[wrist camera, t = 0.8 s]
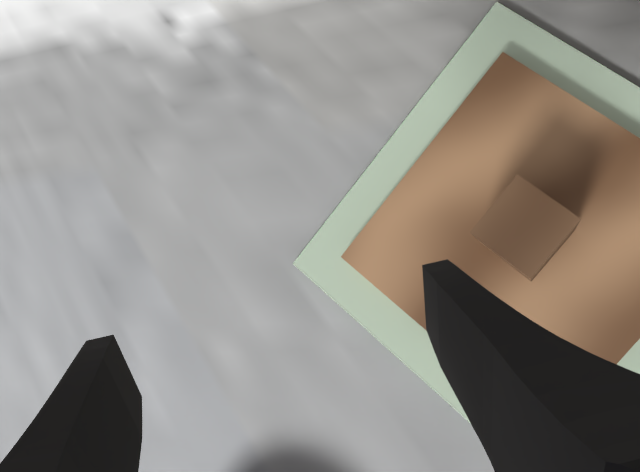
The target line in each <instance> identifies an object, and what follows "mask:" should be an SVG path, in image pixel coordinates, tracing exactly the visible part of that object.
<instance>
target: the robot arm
mask: <svg viewBox="0 0 640 472" xmlns="http://www.w3.org/2000/svg"><path fill="white" fill-rule="evenodd" d="M422 270H423V286H424V302H425V318H426V331H427V333H428V336H429V339H430V341H431V344H432V346H433V349H434V352H435V354H436V357H437V359H438V362H439V364H440V367H441V369H442V371H443V373H444V374H445V376H446V378H447V380H448V382H449V384H450V386H451V388H452V389H453V391H454V393H455V395H456V397H457V399H458V401H459V402H460V404H461V406H462V408H463V410H464V412H465V413H466V415H467V417H468V419H469V421H470V423H471V425H472V426H473V428H474V430H475V432H476V434H477V436H478V437H479V439H480V441H481V443H482V445H483V447H484V449H485V451H486V453H487V455H488V457H489V459H490V461H491V463H492V466H493V468H494V471H495V472H640V374H639V373H636V372H633V371H631V370H628V369H626V368H624V367H621V366H619V365H617V364H614V363H612V362H610V361H607V360H605V359H603V358H601V357H598V356H596V355H594V354H592V353H590V352H588V351H586V350H584V349H582V348H580V347H578V346H576V345H574V344H572V343H570V342H568V341H566V340H564V339H562V338H560V337H559V336H557V335H555V334H553V333H552V332H550V331H548V330H546V329H545V328H543V327H541V326H540V325H538V324H537V323H535V322H533V321H532V320H530V319H529V318H527V317H526V316H524V315H523V314H521V313H520V312H518V311H517V310H515V309H514V308H512V307H511V306H509V305H508V304H507V303H505V302H504V301H502V300H501V299H499V298H498V297H497V296H495V295H494V294H492V293H491V292H490V291H488V290H487V289H486V288H484V287H483V286H482V285H480V284H479V283H478V282H477V281H475V280H474V279H473V278H471V277H470V276H469V275H468V274H466V273H465V272H464V271H462V270H461V269H460V268H459V267H457V266H456V265H455V264H453V263H452V262H451V261H449V260H448V259H446V260H442V261H437V262H433V263H429V264H424V265H422ZM141 443H142V396H141V394H140V392H139V389H138V387H137V385H136V383H135V381H134V379H133V376H132V374H131V372H130V370H129V368H128V365H127V363H126V361H125V359H124V357H123V355H122V352H121V350H120V348H119V346H118V344H117V342H116V339H115V337H114V335H110V336H106V337H101V338H97V339H93V340H88V341H86V342H85V344H84V345H83V347H82V348H81V350H80V351H79V353H78V354H77V356H76V357H75V359H74V360H73V362H72V363H71V365H70V366H69V368H68V369H67V371H66V373H65V374H64V376H63V377H62V379H61V380H60V382H59V383H58V385H57V386H56V388H55V389H54V391H53V392H52V394H51V395H50V397H49V398H48V400H47V401H46V403H45V404H44V406H43V407H42V408H41V410H40V411H39V413H38V414H37V416H36V417H35V419H34V420H33V421H32V423H31V424H30V425H29V427H28V428H27V429H26V431H25V432H24V433H23V435H22V436H21V437H20V439H19V440H18V441H17V443H16V444H15V445H14V447H13V448H12V449H11V451H10V452H9V453H8V455H7V456H6V457H5V458H4V460H3V461H2V462H1V463H0V472H138V468H139V460H140V452H141Z"/></svg>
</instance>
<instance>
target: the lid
mask: <svg viewBox="0 0 640 472" xmlns="http://www.w3.org/2000/svg"><path fill="white" fill-rule="evenodd" d="M341 258H343V259H344V260H345V261H346V262H347V263H348V264H350V265H351V266H352V267H353V268H354V269H355V270H356V271H358V272H359V273H360V274H361V275H362V276H363V277H365V278H366V279H367V280H368V281H369V282H370V283H372V284H373V285H374V286H375V287H376V288H377V289H379V290H380V291H381V292H382V293H383V294H384V295H386V296H387V297H388V298H389V299H390V300H391V301H393V302H394V303H395V304H396V305H397V306H398V307H399V308H401V309H402V310H403V311H404V312H405V313H406V314H408V315H409V316H410V317H411V318H412V319H413V320H415V321H416V322H417V323H418V324H419V325H420V326H422V327H423V328H424V329H425V330H426V318H425V302H424V286H423V270H422V265H424V264H429V263H433V262H437V261H442V260H446V259H448V260H449V261H451V262H452V263H453V264H455V265H456V266H457V267H459V268H460V269H461V270H462V271H464V272H465V273H466V274H468V275H469V276H470V277H471V278H473V279H474V280H475V281H477V282H478V283H479V284H480V285H482V286H483V287H484V288H486V289H487V290H488V291H490V292H491V293H492V294H494V295H495V296H497V297H498V298H499V299H501V300H502V301H504V302H505V303H507V304H508V305H509V306H511V307H512V308H514V309H515V310H517V311H518V312H520V313H521V314H523V315H524V316H526V317H527V318H529V319H530V320H532V321H533V322H535V323H537V324H538V325H540V326H541V327H543V328H545V329H546V330H548V331H550V332H552V333H553V334H555V335H557V336H559V337H560V338H562V339H564V340H566V341H568V342H570V343H572V344H574V345H576V346H578V347H580V348H582V349H584V350H586V351H588V352H590V353H592V354H594V355H596V356H598V357H601V358H603V359H605V360H607V361H610V362H612V363H614V364H617V363H618V362H619V361H620V360H621V359H622V358H623V357H624V355H625V354H626V353H627V352H628V351H629V350H630V349H631V348H632V347H633V345H634V344H635V343H636V342H637V341H638V340H639V339H640V138H639V137H637V136H635V135H634V134H632V133H631V132H629V131H627V130H626V129H624V128H623V127H621V126H620V125H618V124H616V123H615V122H613V121H612V120H610V119H609V118H607V117H605V116H604V115H602V114H601V113H599V112H597V111H596V110H594V109H593V108H591V107H590V106H588V105H586V104H585V103H583V102H582V101H580V100H578V99H577V98H575V97H574V96H572V95H571V94H569V93H567V92H566V91H564V90H563V89H561V88H559V87H558V86H556V85H555V84H553V83H552V82H550V81H548V80H547V79H545V78H544V77H542V76H540V75H539V74H537V73H536V72H534V71H533V70H531V69H529V68H528V67H526V66H525V65H523V64H522V63H520V62H518V61H517V60H515V59H514V58H512V57H510V56H509V55H507V54H506V53H504V52H502V53H501V55H500V56H499V57H498V58H497V60H496V61H495V62H494V63H493V65H492V66H491V67H490V68H489V70H488V71H487V72H486V74H485V75H484V76H483V77H482V79H481V80H480V81H479V82H478V84H477V85H476V86H475V87H474V89H473V90H472V91H471V93H470V94H469V95H468V96H467V98H466V99H465V100H464V101H463V103H462V104H461V105H460V106H459V108H458V109H457V110H456V112H455V113H454V114H453V115H452V117H451V118H450V119H449V120H448V122H447V123H446V124H445V125H444V127H443V128H442V129H441V130H440V132H439V133H438V134H437V136H436V137H435V138H434V139H433V141H432V142H431V143H430V144H429V146H428V147H427V148H426V149H425V151H424V152H423V153H422V155H421V156H420V157H419V158H418V160H417V161H416V162H415V163H414V165H413V166H412V167H411V168H410V170H409V171H408V172H407V174H406V175H405V176H404V177H403V179H402V180H401V181H400V182H399V184H398V185H397V186H396V187H395V189H394V190H393V191H392V193H391V194H390V195H389V196H388V198H387V199H386V200H385V201H384V203H383V204H382V205H381V206H380V208H379V209H378V210H377V211H376V213H375V214H374V215H373V217H372V218H371V219H370V220H369V222H368V223H367V224H366V225H365V227H364V228H363V229H362V230H361V232H360V233H359V234H358V236H357V237H356V238H355V239H354V241H353V242H352V243H351V244H350V246H349V247H348V248H347V249H346V251H345V252H344V253H343V255H342V256H341Z"/></svg>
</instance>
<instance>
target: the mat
mask: <svg viewBox="0 0 640 472" xmlns="http://www.w3.org/2000/svg"><path fill="white" fill-rule="evenodd" d="M502 52H504V53H506V54H507V55H509V56H510V57H512V58H514V59H515V60H517V61H518V62H520V63H522V64H523V65H525V66H526V67H528V68H529V69H531V70H533V71H534V72H536V73H537V74H539V75H540V76H542V77H544V78H545V79H547V80H548V81H550V82H552V83H553V84H555V85H556V86H558V87H559V88H561V89H563V90H564V91H566V92H567V93H569V94H571V95H572V96H574V97H575V98H577V99H578V100H580V101H582V102H583V103H585V104H586V105H588V106H590V107H591V108H593V109H594V110H596V111H597V112H599V113H601V114H602V115H604V116H605V117H607V118H609V119H610V120H612V121H613V122H615V123H616V124H618V125H620V126H621V127H623V128H624V129H626V130H627V131H629V132H631V133H632V134H634V135H635V136H637V137H639V138H640V87H638V86H636V85H635V84H633V83H631V82H630V81H628V80H626V79H625V78H623V77H621V76H620V75H618V74H616V73H615V72H613V71H611V70H610V69H608V68H606V67H605V66H603V65H601V64H600V63H598V62H596V61H595V60H593V59H591V58H590V57H588V56H586V55H585V54H583V53H581V52H580V51H578V50H576V49H575V48H573V47H571V46H570V45H568V44H566V43H565V42H563V41H561V40H560V39H558V38H556V37H555V36H553V35H551V34H550V33H548V32H546V31H545V30H543V29H541V28H540V27H538V26H536V25H535V24H533V23H532V22H530V21H528V20H527V19H525V18H523V17H522V16H520V15H518V14H517V13H515V12H513V11H512V10H510V9H508V8H507V7H505V6H503V5H502V4H500V3H498V2H496V3H495V4H494V6H493V7H492V8H491V9H490V11H489V12H488V13H487V15H486V16H485V17H484V18H483V20H482V21H481V22H480V24H479V25H478V26H477V27H476V29H475V30H474V31H473V33H472V34H471V35H470V36H469V38H468V39H467V40H466V42H465V43H464V44H463V45H462V47H461V48H460V49H459V51H458V52H457V53H456V54H455V56H454V57H453V58H452V60H451V61H450V62H449V63H448V65H447V66H446V67H445V69H444V70H443V71H442V72H441V74H440V75H439V76H438V78H437V79H436V80H435V81H434V83H433V84H432V85H431V87H430V88H429V89H428V90H427V92H426V93H425V94H424V96H423V97H422V98H421V99H420V101H419V102H418V103H417V105H416V106H415V107H414V108H413V110H412V111H411V112H410V114H409V115H408V116H407V117H406V119H405V120H404V121H403V123H402V124H401V125H400V126H399V128H398V129H397V130H396V132H395V133H394V134H393V135H392V137H391V138H390V139H389V141H388V142H387V143H386V144H385V146H384V147H383V148H382V150H381V151H380V152H379V153H378V155H377V156H376V157H375V159H374V160H373V161H372V162H371V164H370V165H369V166H368V168H367V169H366V170H365V171H364V173H363V174H362V175H361V177H360V178H359V179H358V181H357V182H356V183H355V184H354V186H353V187H352V188H351V190H350V191H349V192H348V193H347V195H346V196H345V197H344V199H343V200H342V201H341V202H340V204H339V205H338V206H337V208H336V209H335V210H334V211H333V213H332V214H331V215H330V217H329V218H328V219H327V220H326V222H325V223H324V224H323V226H322V227H321V228H320V229H319V231H318V232H317V233H316V235H315V236H314V237H313V238H312V240H311V241H310V242H309V244H308V245H307V246H306V247H305V249H304V250H303V251H302V253H301V254H300V255H299V256H298V258H297V259H296V260H295V262H294V263H293V264H294V265H295V266H296V267H297V268H298V269H299V270H300V271H301V272H302V273H304V274H305V275H306V276H307V277H308V278H309V279H310V280H311V281H313V282H314V283H315V284H316V285H317V286H318V287H319V288H320V289H321V290H323V291H324V292H325V293H326V294H327V295H328V296H329V297H330V298H331V299H333V300H334V301H335V302H336V303H337V304H338V305H339V306H340V307H341V308H343V309H344V310H345V311H346V312H347V313H348V314H349V315H350V316H351V317H353V318H354V319H355V320H356V321H357V322H358V323H359V324H360V325H362V326H363V327H364V328H365V329H366V330H367V331H368V332H369V333H370V334H372V335H373V336H374V337H375V338H376V339H377V340H378V341H379V342H380V343H382V344H383V345H384V346H385V347H386V348H387V349H388V350H389V351H390V352H392V353H393V354H394V355H395V356H396V357H397V358H398V359H399V360H400V361H402V362H403V363H404V364H405V365H406V366H407V367H408V368H409V369H411V370H412V371H413V372H414V373H415V374H416V375H417V376H418V377H419V378H421V379H422V380H423V381H424V382H425V383H426V384H427V385H428V386H429V387H431V388H432V389H433V390H434V391H435V392H436V393H437V394H438V395H439V396H441V397H442V398H443V399H444V400H445V401H446V402H447V403H448V404H449V405H451V406H452V407H453V408H454V409H455V410H456V411H457V412H458V413H460V414H461V415H462V416H463V417H464V418H465V419H466V420H467V421H468V422H470V421H469V419H468V417H467V415H466V413H465V412H464V410H463V408H462V406H461V404H460V402H459V401H458V399H457V397H456V395H455V393H454V391H453V389H452V388H451V386H450V384H449V382H448V380H447V378H446V376H445V374H444V373H443V371H442V369H441V367H440V364H439V362H438V359H437V357H436V354H435V352H434V349H433V346H432V344H431V341H430V339H429V336H428V333H427V331H426V330H425V329H424V328H423V327H422V326H420V325H419V324H418V323H417V322H416V321H415V320H413V319H412V318H411V317H410V316H409V315H408V314H406V313H405V312H404V311H403V310H402V309H401V308H399V307H398V306H397V305H396V304H395V303H394V302H393V301H391V300H390V299H389V298H388V297H387V296H386V295H384V294H383V293H382V292H381V291H380V290H379V289H377V288H376V287H375V286H374V285H373V284H372V283H370V282H369V281H368V280H367V279H366V278H365V277H363V276H362V275H361V274H360V273H359V272H358V271H356V270H355V269H354V268H353V267H352V266H351V265H350V264H348V263H347V262H346V261H345V260H344V259H343V258H341V256H342V255H343V253H344V252H345V251H346V249H347V248H348V247H349V246H350V244H351V243H352V242H353V241H354V239H355V238H356V237H357V236H358V234H359V233H360V232H361V230H362V229H363V228H364V227H365V225H366V224H367V223H368V222H369V220H370V219H371V218H372V217H373V215H374V214H375V213H376V211H377V210H378V209H379V208H380V206H381V205H382V204H383V203H384V201H385V200H386V199H387V198H388V196H389V195H390V194H391V193H392V191H393V190H394V189H395V187H396V186H397V185H398V184H399V182H400V181H401V180H402V179H403V177H404V176H405V175H406V174H407V172H408V171H409V170H410V168H411V167H412V166H413V165H414V163H415V162H416V161H417V160H418V158H419V157H420V156H421V155H422V153H423V152H424V151H425V149H426V148H427V147H428V146H429V144H430V143H431V142H432V141H433V139H434V138H435V137H436V136H437V134H438V133H439V132H440V130H441V129H442V128H443V127H444V125H445V124H446V123H447V122H448V120H449V119H450V118H451V117H452V115H453V114H454V113H455V112H456V110H457V109H458V108H459V106H460V105H461V104H462V103H463V101H464V100H465V99H466V98H467V96H468V95H469V94H470V93H471V91H472V90H473V89H474V87H475V86H476V85H477V84H478V82H479V81H480V80H481V79H482V77H483V76H484V75H485V74H486V72H487V71H488V70H489V68H490V67H491V66H492V65H493V63H494V62H495V61H496V60H497V58H498V57H499V56H500V55H501V53H502ZM617 365H619V366H621V367H624V368H626V369H628V370H631V371H633V372H636V373H639V374H640V339H639V340H638V341H637V342H636V343H635V344H634V345H633V347H632V348H631V349H630V350H629V351H628V352H627V353H626V354H625V355H624V357H623V358H622V359H621V360H620V361H619V362H618V363H617Z"/></svg>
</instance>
